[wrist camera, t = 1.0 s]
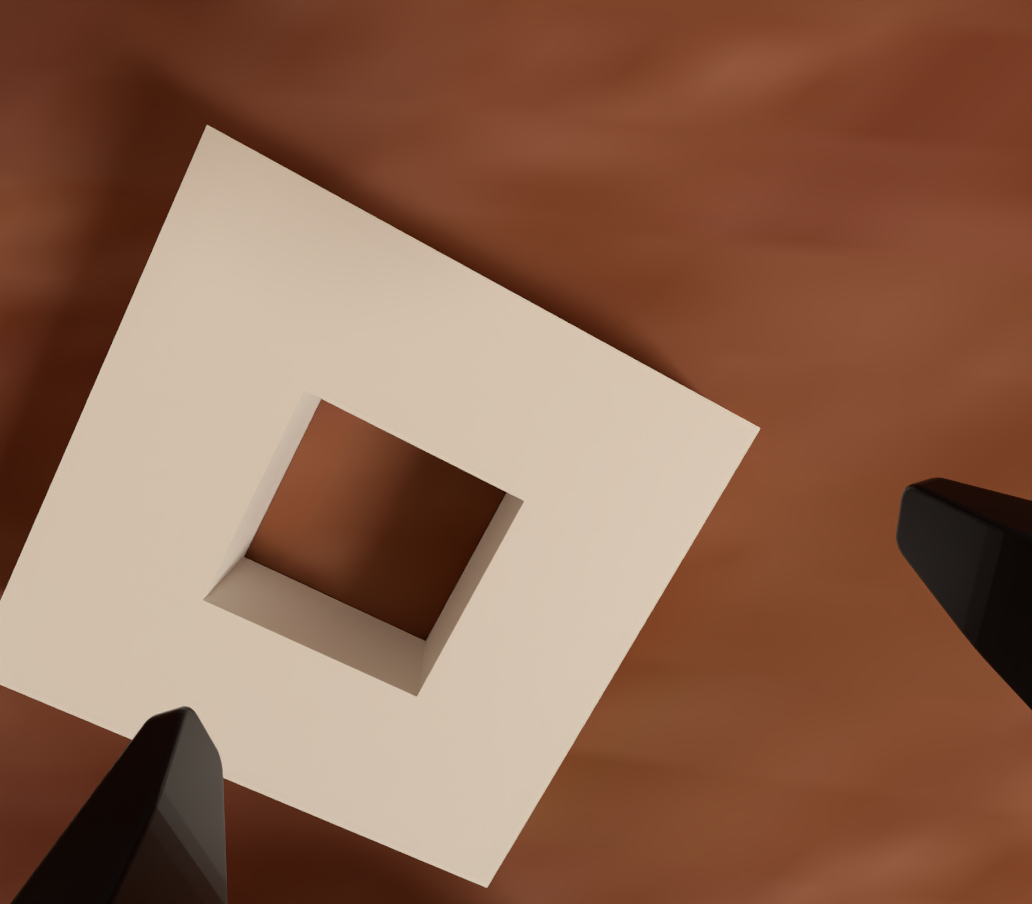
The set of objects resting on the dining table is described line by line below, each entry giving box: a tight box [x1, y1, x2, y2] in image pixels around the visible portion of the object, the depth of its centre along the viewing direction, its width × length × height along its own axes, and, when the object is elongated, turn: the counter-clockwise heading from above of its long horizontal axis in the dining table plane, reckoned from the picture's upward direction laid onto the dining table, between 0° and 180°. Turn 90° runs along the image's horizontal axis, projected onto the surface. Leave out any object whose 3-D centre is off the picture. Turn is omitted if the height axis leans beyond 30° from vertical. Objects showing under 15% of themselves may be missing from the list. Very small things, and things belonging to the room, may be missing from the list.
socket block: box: [0, 125, 760, 888], centre depth 21 cm, size 16×16×4 cm
